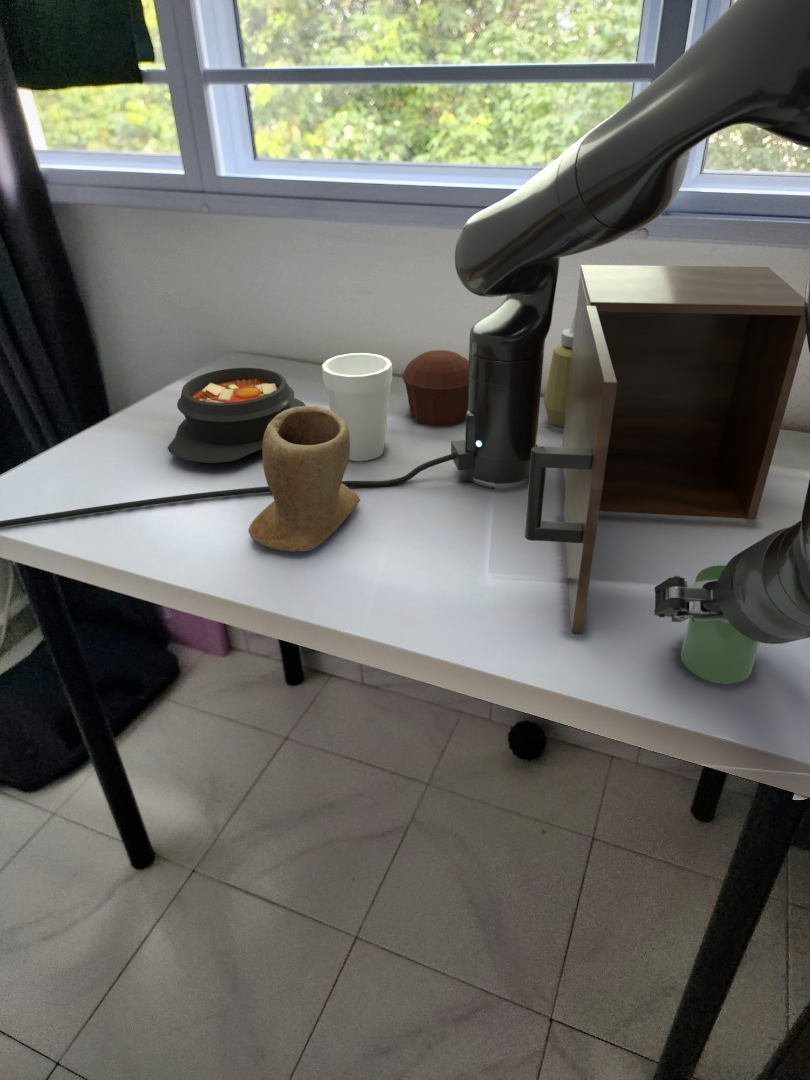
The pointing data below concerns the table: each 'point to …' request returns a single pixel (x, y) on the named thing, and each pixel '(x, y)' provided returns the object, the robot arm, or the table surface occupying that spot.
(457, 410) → the muffin
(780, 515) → the table surface
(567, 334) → the squeeze bottle
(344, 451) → the stone cup
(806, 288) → the robot arm
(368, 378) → the foam cup
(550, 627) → the table surface
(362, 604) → the table surface
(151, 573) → the table surface
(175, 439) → the casserole
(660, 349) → the cupboard
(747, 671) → the pot
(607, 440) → the cupboard door
